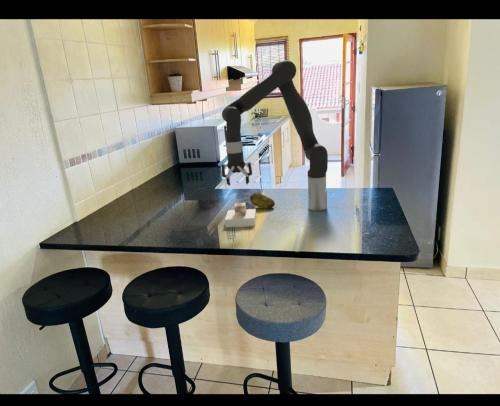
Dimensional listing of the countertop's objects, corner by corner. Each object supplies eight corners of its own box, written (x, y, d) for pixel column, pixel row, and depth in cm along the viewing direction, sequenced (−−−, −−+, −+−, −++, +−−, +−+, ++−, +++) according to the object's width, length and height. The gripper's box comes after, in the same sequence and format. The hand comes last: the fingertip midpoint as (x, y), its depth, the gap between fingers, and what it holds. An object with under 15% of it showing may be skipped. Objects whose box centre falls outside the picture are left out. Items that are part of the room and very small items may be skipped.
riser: (256, 216, 191) (255, 208, 189) (254, 226, 178) (254, 218, 177) (228, 217, 192) (228, 210, 191) (225, 227, 180) (224, 219, 178)
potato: (267, 212, 195) (266, 197, 193) (248, 208, 203) (247, 194, 201) (276, 207, 202) (275, 192, 199) (257, 203, 209) (256, 190, 207)
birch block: (246, 212, 186) (245, 202, 184) (245, 215, 181) (244, 205, 180) (236, 212, 186) (235, 203, 185) (235, 216, 182) (234, 206, 180)
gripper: (250, 148, 177) (253, 181, 182) (220, 150, 178) (224, 183, 183) (249, 151, 170) (252, 185, 175) (218, 153, 171) (222, 187, 176)
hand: (238, 184), depth 179 cm, fingers open, 8 cm apart
